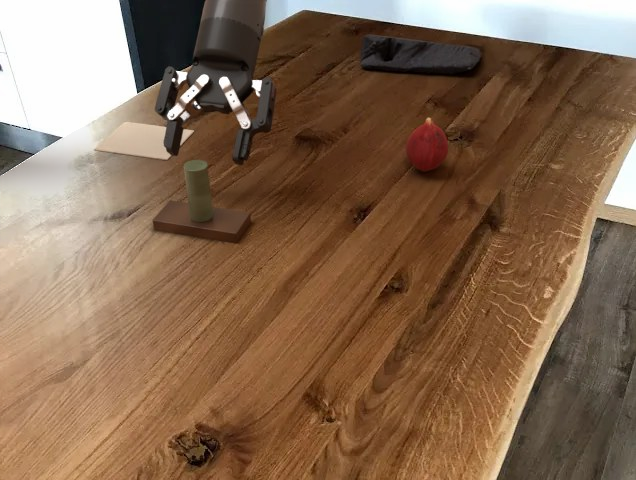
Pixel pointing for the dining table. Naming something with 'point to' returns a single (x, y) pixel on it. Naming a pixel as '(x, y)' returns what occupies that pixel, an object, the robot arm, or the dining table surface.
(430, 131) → the onion
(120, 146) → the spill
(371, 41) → the dark slate chunk
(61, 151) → the dining table surface
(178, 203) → the stamp with green handle
